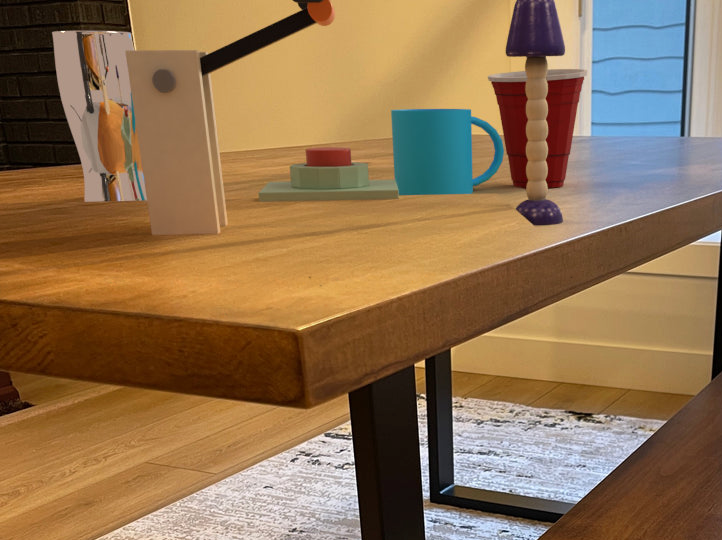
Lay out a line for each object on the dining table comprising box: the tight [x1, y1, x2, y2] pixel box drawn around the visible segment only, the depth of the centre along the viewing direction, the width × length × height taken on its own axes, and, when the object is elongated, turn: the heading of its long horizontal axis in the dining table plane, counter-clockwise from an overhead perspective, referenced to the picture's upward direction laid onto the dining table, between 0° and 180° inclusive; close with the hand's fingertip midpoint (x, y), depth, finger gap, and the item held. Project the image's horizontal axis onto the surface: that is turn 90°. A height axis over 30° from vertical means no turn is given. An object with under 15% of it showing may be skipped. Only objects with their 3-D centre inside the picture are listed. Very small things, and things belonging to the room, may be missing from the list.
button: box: [305, 146, 352, 167], centre depth 90 cm, size 4×4×2 cm
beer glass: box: [51, 30, 147, 203], centre depth 91 cm, size 7×7×15 cm
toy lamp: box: [505, 0, 566, 226], centre depth 80 cm, size 5×5×17 cm
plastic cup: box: [487, 68, 588, 189], centre depth 109 cm, size 11×11×12 cm
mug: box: [390, 108, 505, 196], centre depth 104 cm, size 12×8×8 cm
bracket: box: [125, 49, 229, 236], centre depth 68 cm, size 11×9×13 cm
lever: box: [200, 0, 336, 77], centre depth 66 cm, size 13×6×2 cm, turn 97°
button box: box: [257, 161, 400, 203], centre depth 91 cm, size 12×10×4 cm
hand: (311, 6), depth 66 cm, fingers open, 8 cm apart
